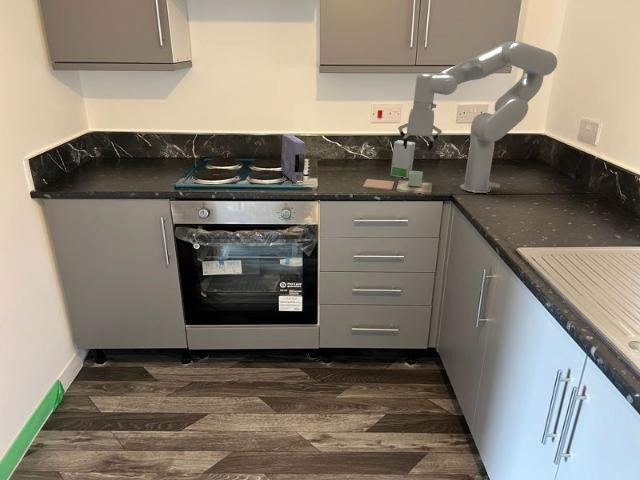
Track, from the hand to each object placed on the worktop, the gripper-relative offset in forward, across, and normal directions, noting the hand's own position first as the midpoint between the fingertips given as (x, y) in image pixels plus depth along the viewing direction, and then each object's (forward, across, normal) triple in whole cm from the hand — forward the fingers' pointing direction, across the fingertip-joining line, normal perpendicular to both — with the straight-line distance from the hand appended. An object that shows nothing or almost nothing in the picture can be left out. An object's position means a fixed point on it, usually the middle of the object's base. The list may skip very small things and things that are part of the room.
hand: (417, 149), depth 202 cm
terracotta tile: (+17, +14, 0) cm, 22 cm away
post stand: (+16, -1, 0) cm, 17 cm away
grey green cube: (+15, -1, 0) cm, 15 cm away
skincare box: (+17, +6, -19) cm, 26 cm away
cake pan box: (+18, +52, +1) cm, 55 cm away
